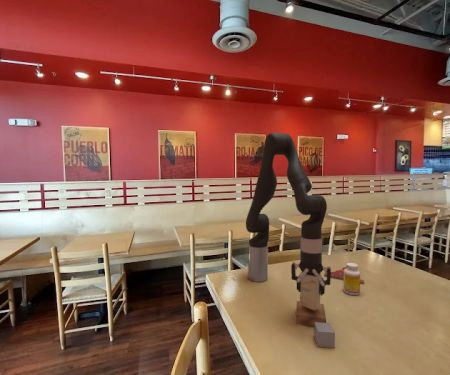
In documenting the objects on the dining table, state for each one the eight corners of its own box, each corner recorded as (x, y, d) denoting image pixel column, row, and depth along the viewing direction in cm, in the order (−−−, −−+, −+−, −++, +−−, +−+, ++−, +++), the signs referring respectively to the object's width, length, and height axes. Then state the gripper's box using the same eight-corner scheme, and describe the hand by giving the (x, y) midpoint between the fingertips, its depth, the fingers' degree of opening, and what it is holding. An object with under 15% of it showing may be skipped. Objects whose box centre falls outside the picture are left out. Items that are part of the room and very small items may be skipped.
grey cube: (318, 346, 81) (318, 331, 80) (314, 336, 86) (314, 322, 85) (334, 347, 80) (334, 332, 80) (329, 337, 85) (330, 323, 85)
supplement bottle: (361, 296, 112) (362, 267, 111) (345, 295, 113) (346, 266, 112) (357, 289, 118) (357, 262, 118) (341, 288, 120) (342, 261, 119)
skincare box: (299, 304, 96) (299, 273, 95) (305, 300, 99) (305, 269, 98) (315, 311, 92) (316, 278, 91) (321, 306, 95) (321, 274, 94)
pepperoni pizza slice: (323, 273, 133) (331, 261, 150) (323, 277, 133) (330, 265, 150) (364, 281, 123) (367, 268, 140) (364, 286, 123) (367, 272, 140)
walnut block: (296, 325, 92) (296, 314, 92) (296, 310, 102) (296, 300, 102) (325, 329, 90) (326, 318, 89) (323, 314, 99) (323, 304, 99)
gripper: (289, 250, 93) (289, 294, 94) (332, 254, 88) (331, 301, 89) (292, 244, 100) (292, 285, 101) (332, 248, 95) (331, 291, 96)
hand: (310, 292), depth 95 cm, fingers closed on skincare box, 7 cm apart
